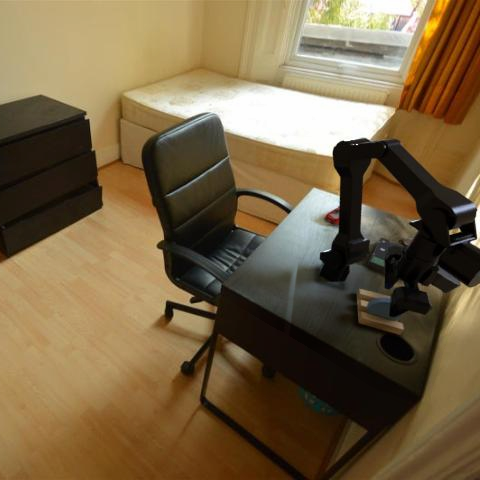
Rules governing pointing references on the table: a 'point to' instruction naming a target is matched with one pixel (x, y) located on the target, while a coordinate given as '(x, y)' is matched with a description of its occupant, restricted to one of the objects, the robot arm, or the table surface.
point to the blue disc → (380, 308)
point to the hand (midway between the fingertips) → (389, 302)
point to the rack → (373, 320)
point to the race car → (333, 216)
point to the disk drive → (380, 254)
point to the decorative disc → (407, 241)
